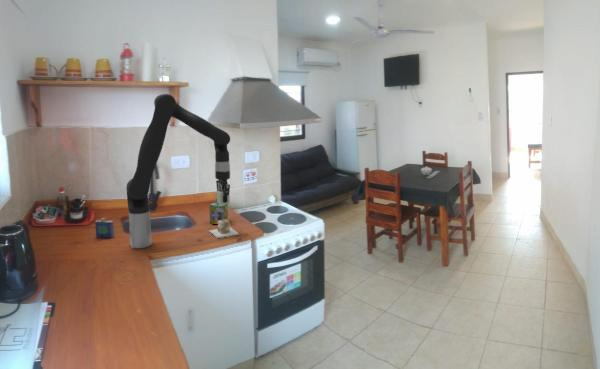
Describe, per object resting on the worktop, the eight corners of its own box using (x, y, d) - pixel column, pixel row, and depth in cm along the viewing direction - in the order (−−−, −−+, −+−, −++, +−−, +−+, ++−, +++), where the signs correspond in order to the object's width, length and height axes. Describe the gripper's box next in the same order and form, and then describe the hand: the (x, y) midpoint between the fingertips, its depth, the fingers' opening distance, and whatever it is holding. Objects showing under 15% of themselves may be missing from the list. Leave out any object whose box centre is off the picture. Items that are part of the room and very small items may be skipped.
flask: (115, 237, 189) (113, 217, 187) (112, 239, 186) (110, 219, 184) (98, 236, 189) (96, 216, 187) (94, 238, 187) (92, 218, 184)
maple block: (221, 233, 194) (220, 223, 193) (217, 231, 198) (217, 220, 197) (229, 232, 197) (229, 221, 196) (226, 229, 201) (226, 219, 200)
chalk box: (225, 225, 212) (224, 200, 209) (209, 224, 212) (208, 200, 209) (228, 220, 221) (228, 196, 218) (213, 220, 221) (213, 196, 218)
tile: (217, 239, 190) (217, 237, 189) (209, 232, 199) (209, 230, 199) (238, 235, 196) (238, 233, 196) (230, 229, 206) (230, 227, 206)
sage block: (220, 204, 191) (220, 193, 190) (217, 202, 195) (216, 191, 194) (229, 203, 194) (229, 192, 192) (226, 201, 198) (225, 190, 196)
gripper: (210, 168, 194) (211, 199, 198) (220, 172, 183) (221, 205, 186) (224, 167, 198) (224, 197, 202) (234, 171, 187) (235, 203, 190)
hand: (223, 201), depth 194 cm, fingers closed on sage block, 5 cm apart
